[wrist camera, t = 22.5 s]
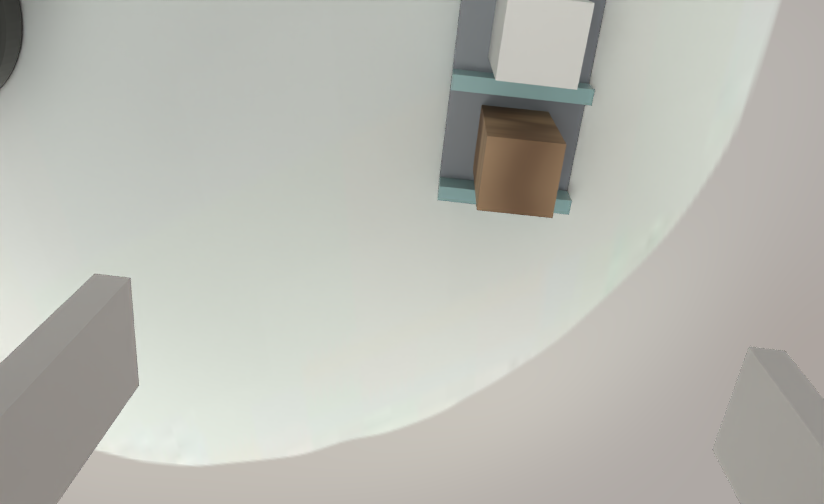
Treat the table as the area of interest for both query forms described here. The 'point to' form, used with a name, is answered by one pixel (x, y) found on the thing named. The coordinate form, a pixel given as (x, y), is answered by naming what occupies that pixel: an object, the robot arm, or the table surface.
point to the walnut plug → (517, 161)
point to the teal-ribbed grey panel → (504, 102)
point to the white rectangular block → (540, 41)
